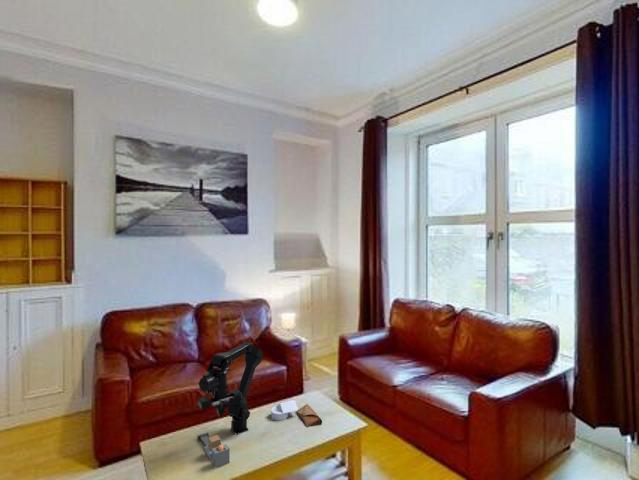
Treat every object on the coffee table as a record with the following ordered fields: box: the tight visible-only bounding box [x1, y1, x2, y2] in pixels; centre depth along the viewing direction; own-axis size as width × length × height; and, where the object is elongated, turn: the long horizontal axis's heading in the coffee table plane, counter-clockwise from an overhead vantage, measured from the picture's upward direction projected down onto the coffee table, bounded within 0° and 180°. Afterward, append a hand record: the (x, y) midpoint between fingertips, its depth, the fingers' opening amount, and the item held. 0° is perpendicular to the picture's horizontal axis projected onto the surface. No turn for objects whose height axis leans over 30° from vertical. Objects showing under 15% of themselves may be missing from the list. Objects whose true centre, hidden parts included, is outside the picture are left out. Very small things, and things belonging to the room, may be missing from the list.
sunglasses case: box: [295, 403, 323, 428], centre depth 191 cm, size 18×7×7 cm
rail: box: [196, 431, 210, 448], centre depth 164 cm, size 5×20×2 cm, turn 36°
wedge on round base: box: [270, 399, 299, 421], centre depth 194 cm, size 9×7×13 cm
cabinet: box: [211, 443, 231, 469], centre depth 153 cm, size 6×4×6 cm, turn 126°
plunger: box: [218, 444, 224, 452], centre depth 153 cm, size 2×2×3 cm
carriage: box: [204, 434, 222, 460], centre depth 159 cm, size 6×6×7 cm
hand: (220, 417), depth 167 cm, fingers closed
